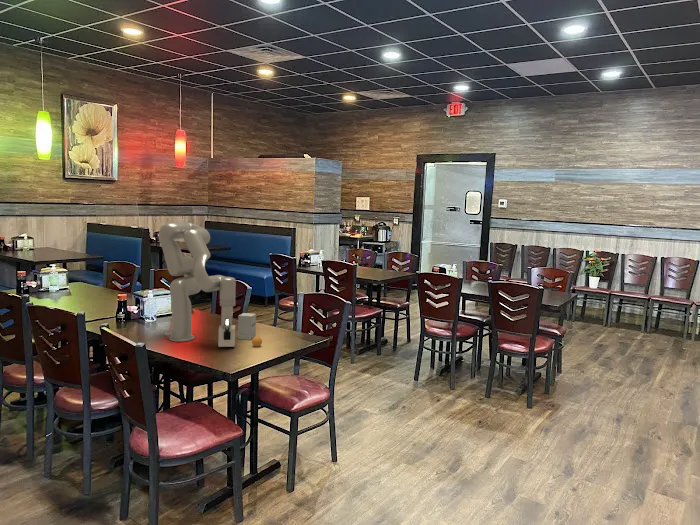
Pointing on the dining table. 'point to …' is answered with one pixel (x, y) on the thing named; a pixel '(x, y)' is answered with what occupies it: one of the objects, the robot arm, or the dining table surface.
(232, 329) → the gray block
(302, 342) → the dining table surface
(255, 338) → the ball
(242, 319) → the supplement box
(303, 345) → the dining table surface
